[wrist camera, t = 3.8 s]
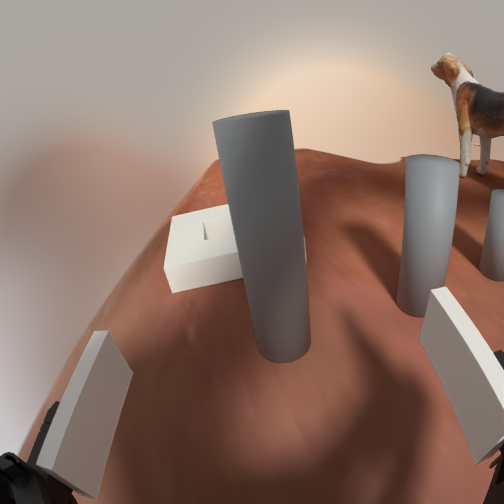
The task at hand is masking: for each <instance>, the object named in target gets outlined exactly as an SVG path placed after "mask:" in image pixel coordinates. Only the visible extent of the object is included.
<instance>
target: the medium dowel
mask: <svg viewBox="0 0 504 504" xmlns="http://www.w3.org/2000/svg"><path fill="white" fill-rule="evenodd" d="M405 163H406V175H405V212H404V229H403V243H402V254H401V264H400V273H399V281H398V289H397V296H396V303H397V306H398V307H399V309H400V310H402V311H403V312H404V313H406V314H408V315H411V316H414V317H425V313H426V309H427V304H428V300H429V295H430V290H432V289H437V288H441V287H444V283H445V278H446V273H447V268H448V263H449V257H450V252H451V246H452V239H453V232H454V225H455V217H456V208H457V198H458V186H459V170H460V164H459V163H458V162H457V161H455V160H453V159H450V158H447V157H442V156H437V155H423V154H422V155H421V154H420V155H411V156H408V157H406V159H405Z"/></svg>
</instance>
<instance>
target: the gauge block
mask: <svg viewBox="0 0 504 504" xmlns="http://www.w3.org/2000/svg"><path fill="white" fill-rule="evenodd" d="M304 246H305V237H304ZM305 258H306V247H305ZM306 263H307V259H306ZM164 271H165V273H166V276H167V279H168V282H169V285H170V288H171V291H172V293H176V292H180V291H185V290H190V289H195V288H199V287H204V286H208V285H213V284H218V283H222V282H227V281H231V280H236V279H240V278H243V275H242V270H241V265H240V260H239V255H238V250H237V245H236V240H235V236H234V231H233V226H232V221H231V216H230V211H229V206H228V204H226V205H221V206H217V207H212V208H208V209H203V210H199V211H194V212H190V213H186V214H181V215H177V216H173V217H172V222H171V227H170V233H169V239H168V245H167V251H166V257H165V263H164Z"/></svg>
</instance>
